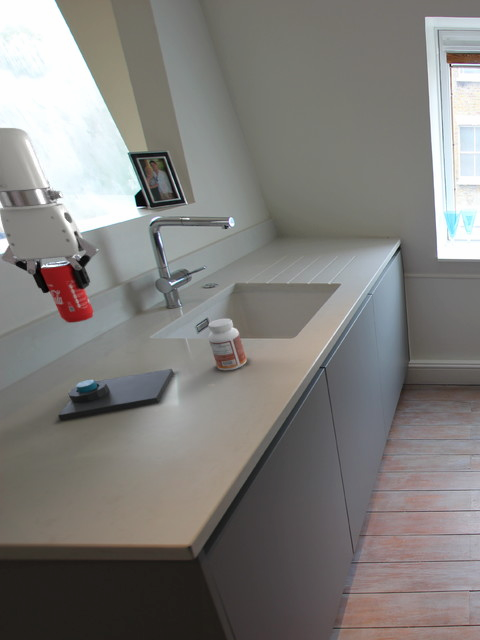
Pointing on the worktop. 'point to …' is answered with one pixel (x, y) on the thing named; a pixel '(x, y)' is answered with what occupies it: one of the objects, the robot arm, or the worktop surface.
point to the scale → (118, 394)
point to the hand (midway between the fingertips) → (66, 288)
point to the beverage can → (66, 292)
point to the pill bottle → (226, 345)
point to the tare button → (86, 386)
